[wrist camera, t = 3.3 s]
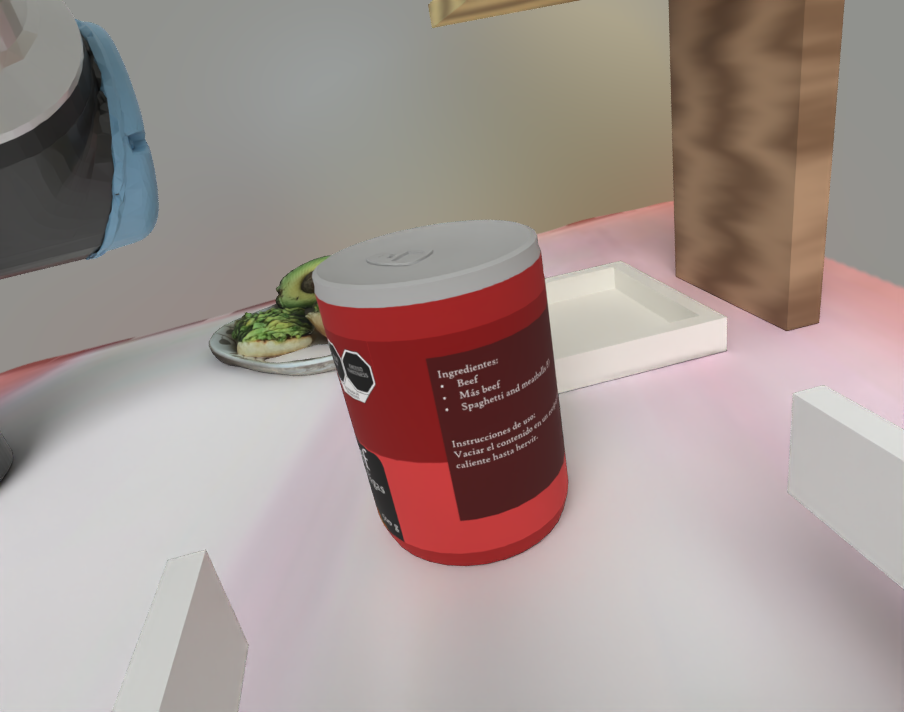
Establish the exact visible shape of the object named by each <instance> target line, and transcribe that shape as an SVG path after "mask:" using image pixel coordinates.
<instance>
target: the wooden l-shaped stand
mask: <svg viewBox="0 0 904 712" xmlns="http://www.w3.org/2000/svg"><path fill="white" fill-rule="evenodd" d="M573 1H578V0H433V1H432V2H431V3H430V4H429V5H428V6H429V12H430V18H431V23H432V28H435V27H440V26H445V25H450V24H455V23H461V22H467V21H472V20H477V19H483V18H488V17H493V16H498V15H504V14H509V13H514V12H519V11H525V10H530V9H536V8H541V7H546V6H552V5H557V4H562V3H568V2H573ZM844 1H845V0H669V31H670V32H669V33H670V69H671V70H670V71H671V104H672V105H671V107H672V148H673V181H674V182H673V184H674V224H675V262H676V277H678V278H680V279H682V280H684V281H686V282H688V283H690V284H693V285H695V286H697V287H699V288H701V289H703V290H705V291H707V292H709V293H711V294H713V295H715V296H717V297H719V298H721V299H723V300H725V301H727V302H729V303H731V304H733V305H735V306H737V307H739V308H741V309H743V310H745V311H747V312H749V313H752V314H754V315H756V316H758V317H760V318H762V319H764V320H766V321H768V322H770V323H772V324H774V325H776V326H778V327H780V328H782V329H784V330H786V331H788V330H792V329H796V328H800V327H804V326H808V325H812V324H816V323H819V317H820V305H821V292H822V279H823V267H824V254H825V241H826V228H827V216H828V203H829V191H830V178H831V165H832V153H833V140H834V127H835V114H836V102H837V90H838V89H837V88H838V77H839V64H840V51H841V39H842V26H843V13H844Z"/></svg>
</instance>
